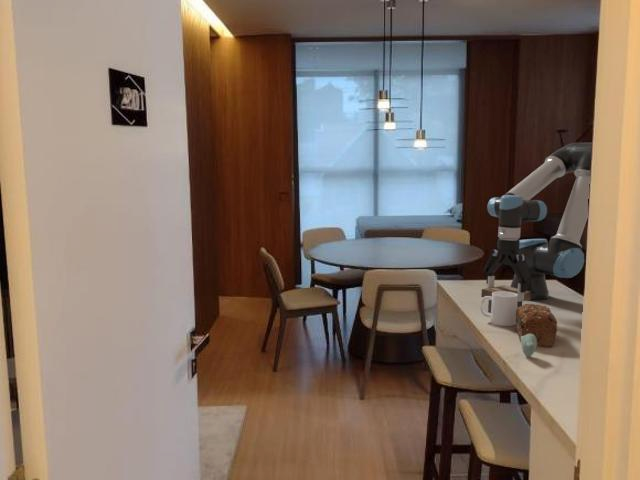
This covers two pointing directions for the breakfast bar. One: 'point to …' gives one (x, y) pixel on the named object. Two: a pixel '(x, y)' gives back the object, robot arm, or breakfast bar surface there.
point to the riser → (491, 304)
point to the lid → (504, 288)
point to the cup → (501, 308)
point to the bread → (537, 324)
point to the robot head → (528, 344)
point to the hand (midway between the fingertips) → (504, 297)
